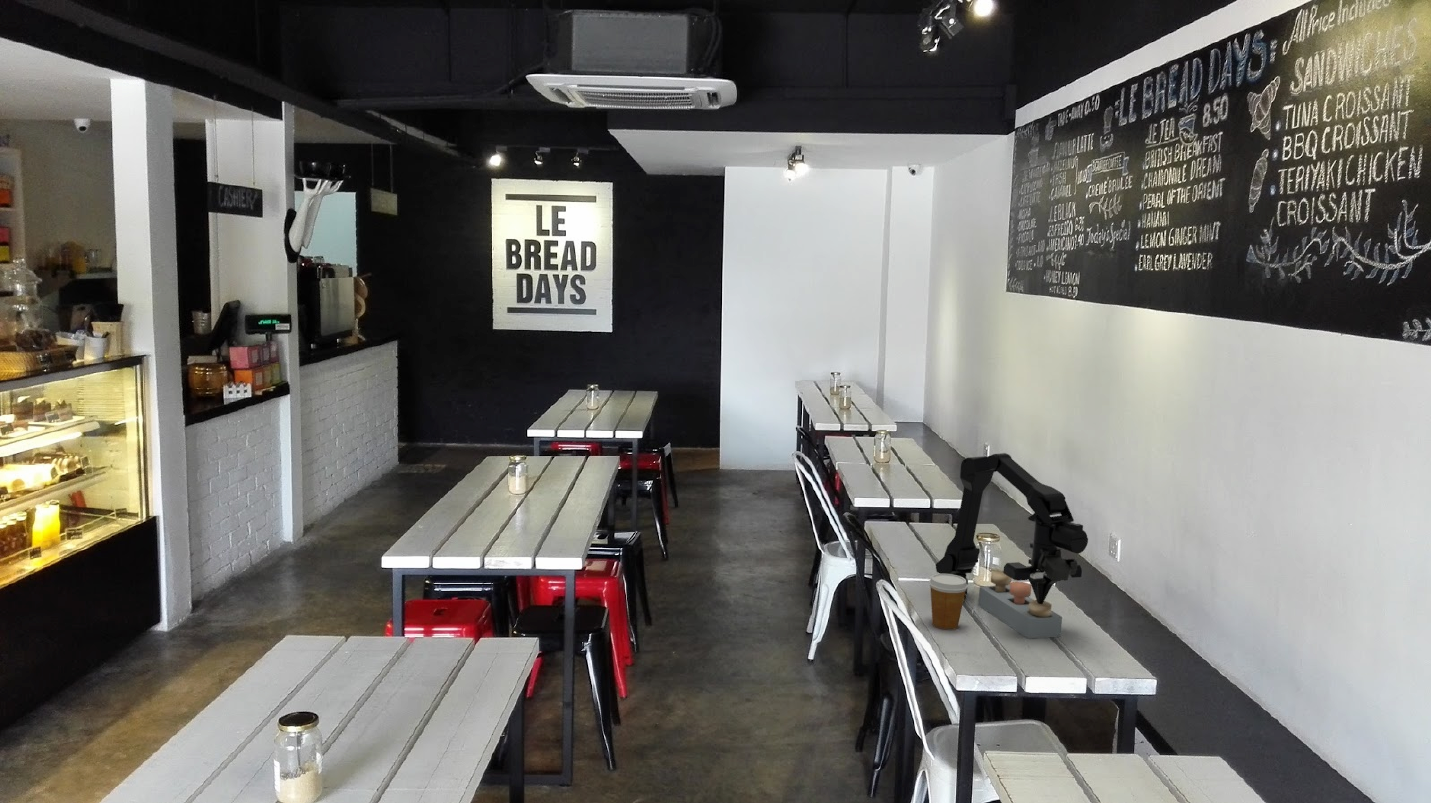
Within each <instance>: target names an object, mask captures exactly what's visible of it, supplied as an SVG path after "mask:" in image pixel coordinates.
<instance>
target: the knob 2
mask: <svg viewBox="0 0 1431 803" xmlns="http://www.w3.org/2000/svg"><path fill="white" fill-rule="evenodd" d="M1051 610H1052V603H1050V602H1048V601H1046V600H1044V602H1043V604H1039V603H1038V602H1037V600H1036V599H1033V600H1032V601H1030V602H1029V613H1030V614H1032V615H1034V616H1035V617H1036V618H1041V617H1048V616H1050V615H1051Z"/></svg>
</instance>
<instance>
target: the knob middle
mask: <svg viewBox="0 0 1431 803" xmlns="http://www.w3.org/2000/svg"><path fill="white" fill-rule="evenodd" d="M1031 591H1032V586H1031V584H1030V583H1028V582H1025V581H1019V580H1018V581H1017V580H1014V581H1011V583H1010V590H1009V593H1010V594H1011V595H1013V596H1014V604H1016V605H1022V604H1024V603H1025V597H1031V594H1032V593H1031Z"/></svg>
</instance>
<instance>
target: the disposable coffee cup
mask: <svg viewBox="0 0 1431 803" xmlns="http://www.w3.org/2000/svg"><path fill="white" fill-rule="evenodd" d="M928 584H929V588H930V602H931V619H932V622H931V623H932V626H934V628H935V627H936V628H937V627H938V629H941V628H942V629H941V630H947V629H950V630H955V629H958V628H959V624H960V620H961V614H962V608H963V604H964V600H965V598H964V596H965V595H966V594H965V591H966V589H967V590H968V589H969V588H968V587H969V584H968V585H967V583H966V579H964V578H963V577H960V576H957V575H953V574H940V573H937V574H932V575H931V576H930V579H929V580H928Z"/></svg>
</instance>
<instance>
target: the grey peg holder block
mask: <svg viewBox="0 0 1431 803" xmlns="http://www.w3.org/2000/svg"><path fill="white" fill-rule="evenodd" d="M1009 590H1010V585H1006V589H1005V592H1002V593H997V592H995V585H991V586H989V585H988V586H979V589H978V593H979V594H978V602H977V605H978V606H979V607H980V606H981V607H980V608H982V609H983V610H985V611H986V610H987V613H989V614H991V615H992V616H994V617H995V618H997V619H998V620H999V621H1001V622H1003V623H1004V624H1005V625H1007V627H1008V626H1009V627H1010V628H1011V629H1013V630H1015V631H1016V632H1018V634H1020V635H1022V636H1023V637H1025V638H1026V639H1028V640H1029V639H1032V640H1033V639H1043V638H1056V637H1057V638H1058V636H1060V637H1061V632H1062V623H1063V616H1061V615H1060V614H1058V613H1056V612H1055V611H1053V610H1052V609H1051V615H1050V616H1048V617H1041V618H1036V617H1035V616H1034V615H1032V614H1030V613H1029V602H1030V601H1032V600H1034V599H1033V598H1031V596H1029V597H1025V603H1024V604H1022V605H1016V604H1014V596H1013V595H1011V594H1010V593H1009Z"/></svg>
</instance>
